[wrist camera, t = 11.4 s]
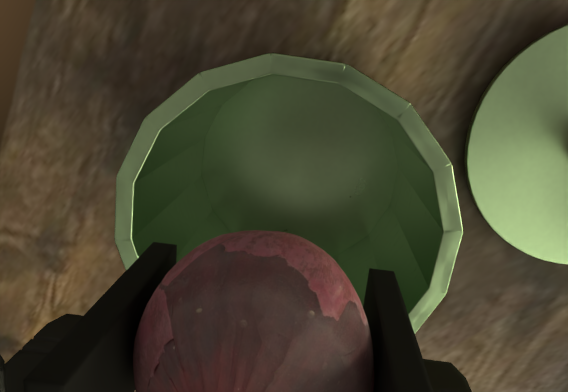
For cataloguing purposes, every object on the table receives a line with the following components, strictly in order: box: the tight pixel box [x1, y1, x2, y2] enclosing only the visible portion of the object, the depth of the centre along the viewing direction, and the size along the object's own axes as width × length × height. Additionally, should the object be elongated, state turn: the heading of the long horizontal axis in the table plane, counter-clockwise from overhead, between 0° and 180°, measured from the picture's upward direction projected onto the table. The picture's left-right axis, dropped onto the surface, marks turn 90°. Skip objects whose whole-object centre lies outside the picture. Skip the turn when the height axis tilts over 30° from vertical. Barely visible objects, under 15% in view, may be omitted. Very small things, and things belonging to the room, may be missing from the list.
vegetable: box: [133, 230, 374, 392], centre depth 11 cm, size 6×6×10 cm
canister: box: [114, 53, 463, 334], centre depth 25 cm, size 15×15×12 cm
